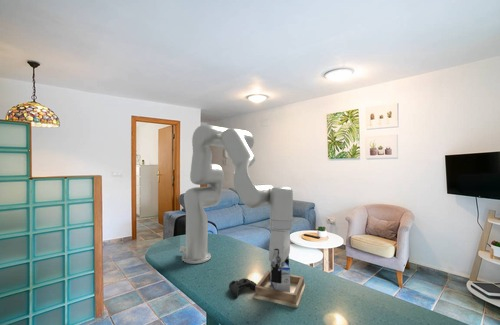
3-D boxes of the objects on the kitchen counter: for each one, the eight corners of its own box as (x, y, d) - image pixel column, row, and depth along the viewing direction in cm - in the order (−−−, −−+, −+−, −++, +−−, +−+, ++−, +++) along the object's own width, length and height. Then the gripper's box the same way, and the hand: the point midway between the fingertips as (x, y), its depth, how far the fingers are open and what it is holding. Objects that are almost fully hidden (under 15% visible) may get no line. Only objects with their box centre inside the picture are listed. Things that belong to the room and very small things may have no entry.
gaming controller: (234, 297, 75) (228, 278, 79) (228, 304, 78) (223, 285, 82) (260, 289, 80) (253, 271, 84) (253, 295, 83) (247, 278, 87)
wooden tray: (253, 297, 76) (253, 287, 76) (267, 278, 89) (267, 269, 89) (297, 308, 71) (297, 296, 71) (305, 286, 84) (305, 276, 84)
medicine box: (270, 283, 84) (270, 258, 84) (282, 282, 85) (282, 257, 85) (277, 295, 76) (276, 268, 76) (290, 294, 77) (290, 267, 77)
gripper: (277, 217, 90) (276, 264, 90) (261, 228, 74) (260, 285, 74) (297, 219, 87) (296, 267, 87) (285, 231, 71) (285, 290, 71)
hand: (280, 275), depth 80 cm, fingers open, 9 cm apart
